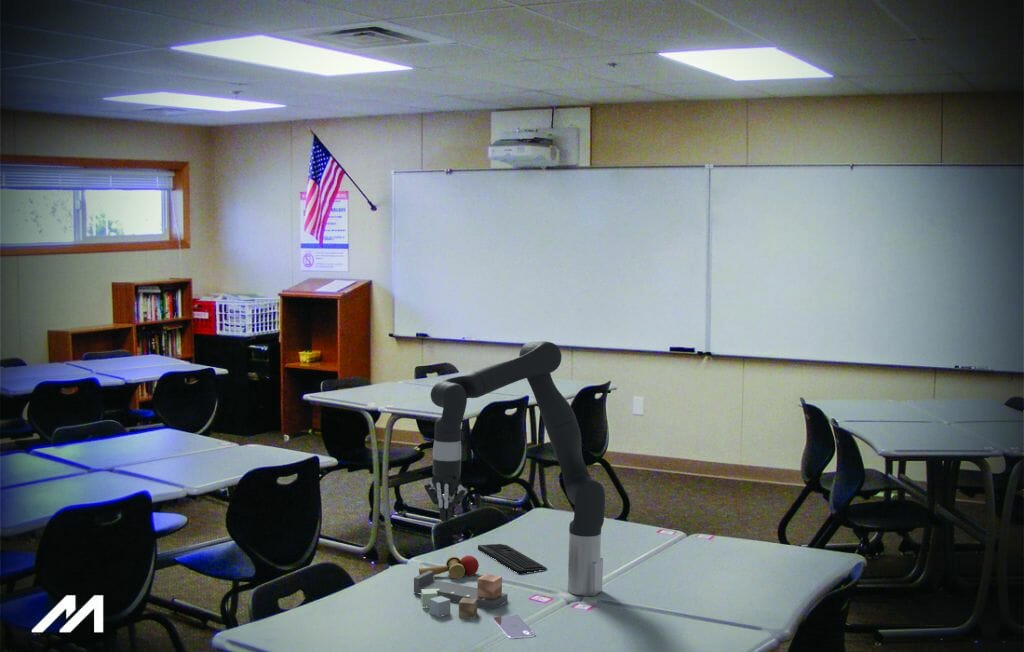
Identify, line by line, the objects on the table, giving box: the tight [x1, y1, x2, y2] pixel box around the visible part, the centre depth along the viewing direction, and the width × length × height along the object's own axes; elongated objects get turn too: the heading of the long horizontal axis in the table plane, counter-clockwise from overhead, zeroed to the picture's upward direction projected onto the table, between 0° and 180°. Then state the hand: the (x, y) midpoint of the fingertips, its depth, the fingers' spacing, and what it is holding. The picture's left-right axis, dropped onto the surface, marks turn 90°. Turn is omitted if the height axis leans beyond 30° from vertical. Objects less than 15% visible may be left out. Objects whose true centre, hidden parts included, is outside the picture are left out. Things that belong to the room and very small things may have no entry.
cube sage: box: [420, 589, 437, 607], centre depth 273 cm, size 4×4×4 cm
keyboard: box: [477, 543, 548, 575], centre depth 317 cm, size 30×11×2 cm, turn 27°
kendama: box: [418, 555, 480, 579], centre depth 299 cm, size 8×6×18 cm
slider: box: [476, 573, 503, 599], centre depth 275 cm, size 5×5×5 cm
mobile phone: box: [492, 614, 537, 640], centre depth 258 cm, size 8×1×15 cm
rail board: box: [413, 570, 508, 610], centre depth 280 cm, size 26×8×4 cm, turn 62°
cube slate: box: [428, 596, 451, 618], centre depth 267 cm, size 4×4×4 cm
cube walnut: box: [458, 598, 478, 619], centre depth 266 cm, size 4×4×4 cm
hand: (445, 521), depth 264 cm, fingers closed
